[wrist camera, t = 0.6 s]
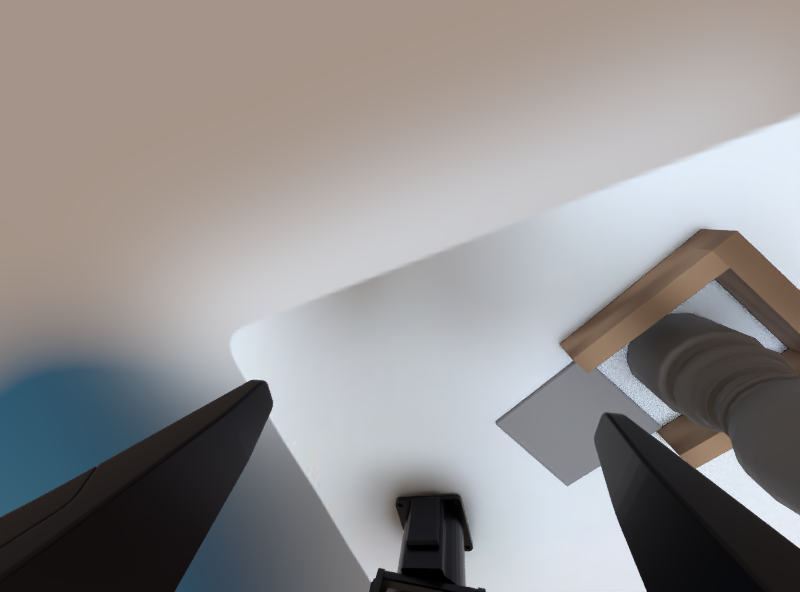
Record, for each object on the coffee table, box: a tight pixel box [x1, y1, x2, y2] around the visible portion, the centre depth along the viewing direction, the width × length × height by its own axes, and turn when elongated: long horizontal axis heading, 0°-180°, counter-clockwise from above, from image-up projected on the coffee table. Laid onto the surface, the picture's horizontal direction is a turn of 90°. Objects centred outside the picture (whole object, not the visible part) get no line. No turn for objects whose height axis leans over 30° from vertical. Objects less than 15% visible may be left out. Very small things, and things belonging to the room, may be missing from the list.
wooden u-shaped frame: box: [560, 229, 800, 469], centre depth 20 cm, size 12×12×2 cm
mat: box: [496, 361, 662, 486], centre depth 24 cm, size 9×8×1 cm
